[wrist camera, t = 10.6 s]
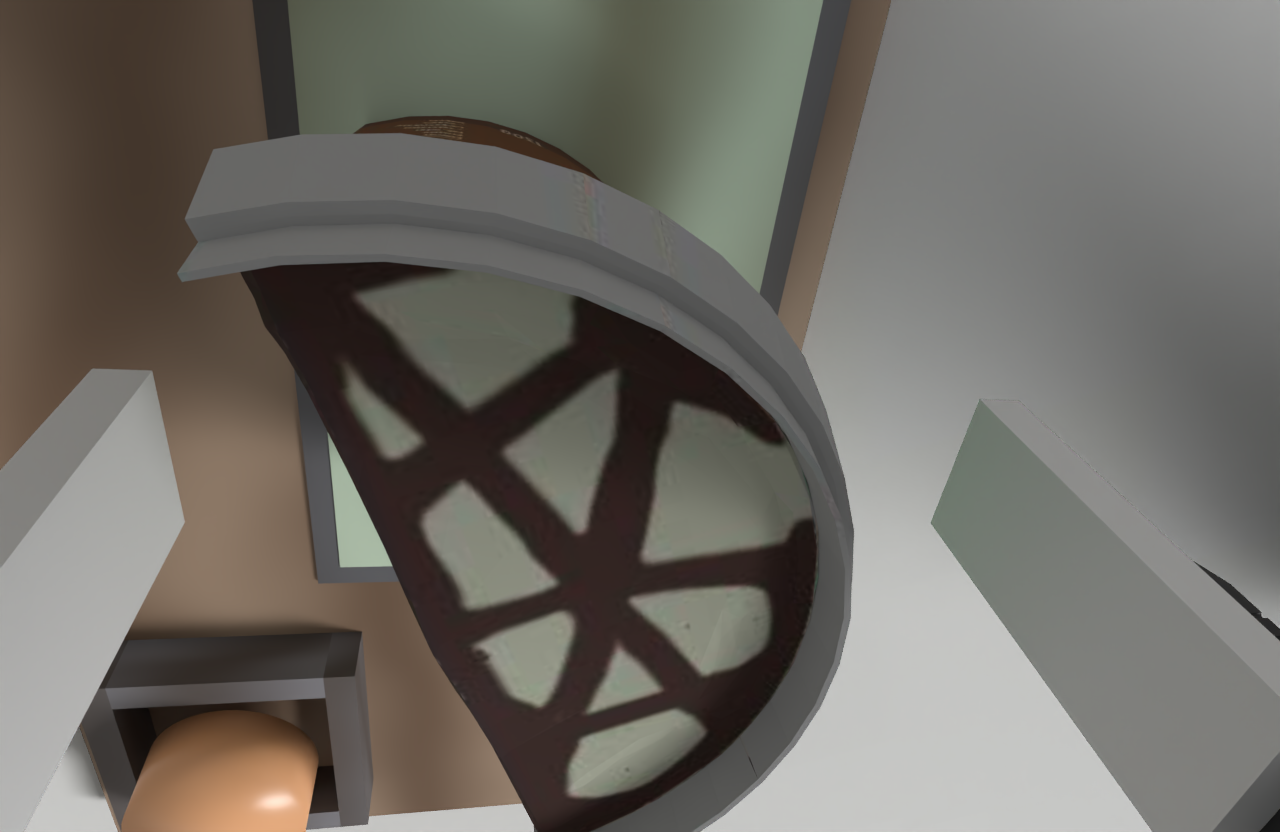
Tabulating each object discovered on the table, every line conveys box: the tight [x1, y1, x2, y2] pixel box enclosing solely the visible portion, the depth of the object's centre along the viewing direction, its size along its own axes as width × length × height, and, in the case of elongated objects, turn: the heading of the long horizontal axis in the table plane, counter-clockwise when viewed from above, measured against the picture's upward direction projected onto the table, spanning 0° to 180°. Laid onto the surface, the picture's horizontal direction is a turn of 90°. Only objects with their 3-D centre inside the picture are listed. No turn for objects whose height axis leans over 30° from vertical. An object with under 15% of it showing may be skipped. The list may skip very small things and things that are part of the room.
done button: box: [121, 710, 319, 832], centre depth 22 cm, size 4×4×2 cm
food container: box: [177, 116, 854, 832], centre depth 14 cm, size 12×6×10 cm, turn 12°
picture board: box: [0, 0, 891, 832], centre depth 20 cm, size 19×29×3 cm, turn 173°
